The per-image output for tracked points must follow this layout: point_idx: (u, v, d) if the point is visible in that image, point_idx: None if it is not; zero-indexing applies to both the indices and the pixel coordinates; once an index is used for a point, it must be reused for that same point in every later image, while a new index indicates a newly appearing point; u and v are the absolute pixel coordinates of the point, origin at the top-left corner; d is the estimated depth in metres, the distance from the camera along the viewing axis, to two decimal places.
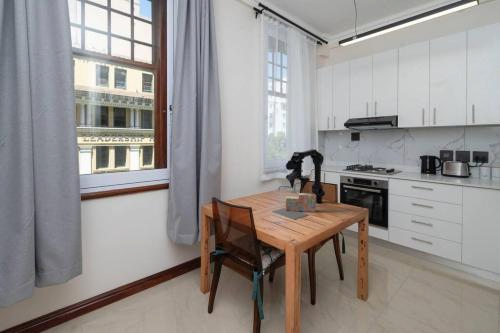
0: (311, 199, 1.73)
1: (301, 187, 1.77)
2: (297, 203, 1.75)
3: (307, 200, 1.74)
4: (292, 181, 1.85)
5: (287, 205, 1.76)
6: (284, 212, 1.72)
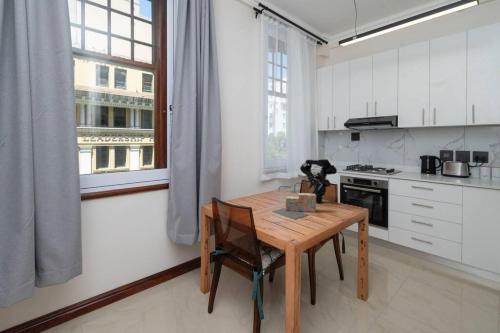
0: (311, 199, 1.73)
1: (319, 187, 1.82)
2: (297, 203, 1.75)
3: (307, 200, 1.74)
4: (311, 183, 1.92)
5: (287, 205, 1.76)
6: (284, 212, 1.72)
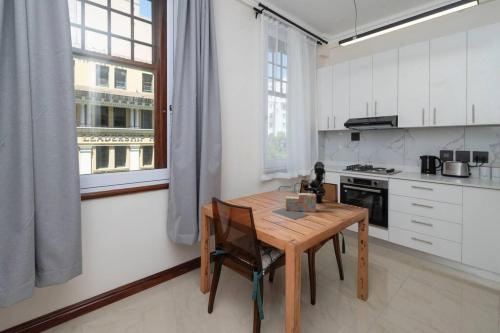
0: (311, 199, 1.73)
1: None
2: (297, 203, 1.75)
3: (307, 200, 1.74)
4: None
5: (287, 205, 1.76)
6: (284, 212, 1.72)
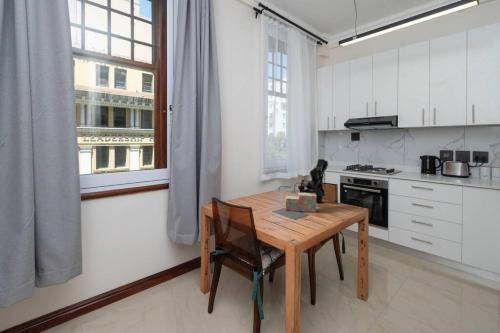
0: (311, 200, 1.72)
1: None
2: (297, 203, 1.74)
3: (307, 200, 1.73)
4: None
5: (287, 205, 1.75)
6: (284, 212, 1.72)
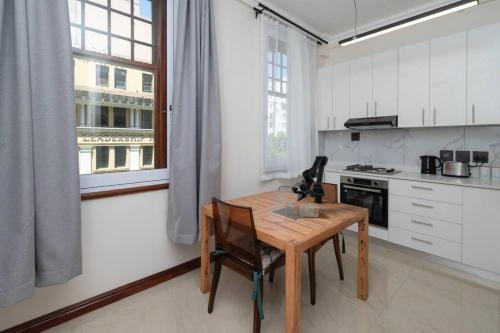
0: None
1: (299, 197, 1.75)
2: None
3: None
4: None
5: None
6: (284, 212, 1.72)
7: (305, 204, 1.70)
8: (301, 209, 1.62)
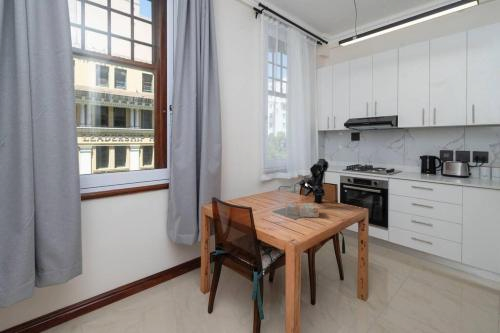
0: None
1: (306, 192, 1.82)
2: None
3: None
4: None
5: None
6: (284, 212, 1.72)
7: (305, 204, 1.70)
8: (301, 209, 1.62)
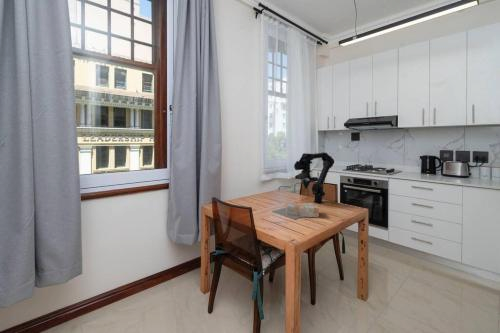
0: None
1: (305, 185, 1.91)
2: None
3: None
4: None
5: None
6: (284, 212, 1.72)
7: (305, 204, 1.70)
8: (301, 209, 1.62)
